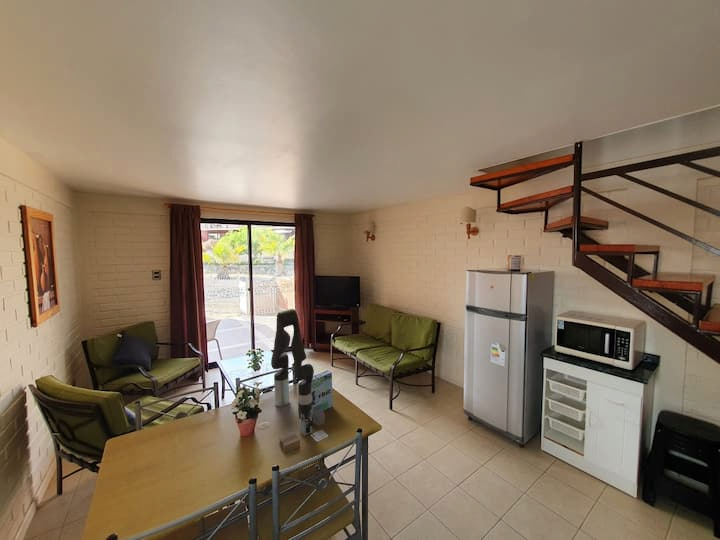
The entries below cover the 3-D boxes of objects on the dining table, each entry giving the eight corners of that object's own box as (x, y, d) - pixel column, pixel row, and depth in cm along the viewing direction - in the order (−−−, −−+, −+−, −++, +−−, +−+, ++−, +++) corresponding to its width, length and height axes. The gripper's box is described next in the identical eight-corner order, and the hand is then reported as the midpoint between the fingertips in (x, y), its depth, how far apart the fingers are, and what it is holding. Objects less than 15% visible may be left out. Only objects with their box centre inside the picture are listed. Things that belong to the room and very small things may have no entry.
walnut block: (279, 444, 150) (279, 437, 149) (294, 439, 154) (293, 431, 154) (284, 453, 143) (284, 445, 143) (299, 447, 148) (299, 439, 147)
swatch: (310, 435, 157) (310, 434, 157) (321, 430, 161) (321, 429, 161) (316, 441, 151) (316, 440, 151) (328, 436, 155) (328, 435, 155)
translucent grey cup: (312, 423, 168) (312, 413, 168) (318, 419, 172) (318, 409, 172) (318, 426, 165) (318, 416, 165) (325, 422, 169) (324, 412, 169)
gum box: (328, 403, 189) (327, 370, 188) (333, 406, 186) (332, 372, 184) (303, 415, 176) (302, 379, 174) (307, 419, 172) (306, 382, 171)
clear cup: (299, 431, 160) (299, 421, 160) (307, 427, 163) (307, 417, 163) (303, 435, 156) (303, 425, 156) (312, 432, 159) (311, 421, 159)
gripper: (293, 397, 162) (294, 426, 163) (304, 408, 151) (305, 439, 152) (305, 393, 167) (306, 421, 168) (317, 403, 155) (318, 433, 156)
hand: (305, 430), depth 160 cm, fingers closed on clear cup, 5 cm apart
